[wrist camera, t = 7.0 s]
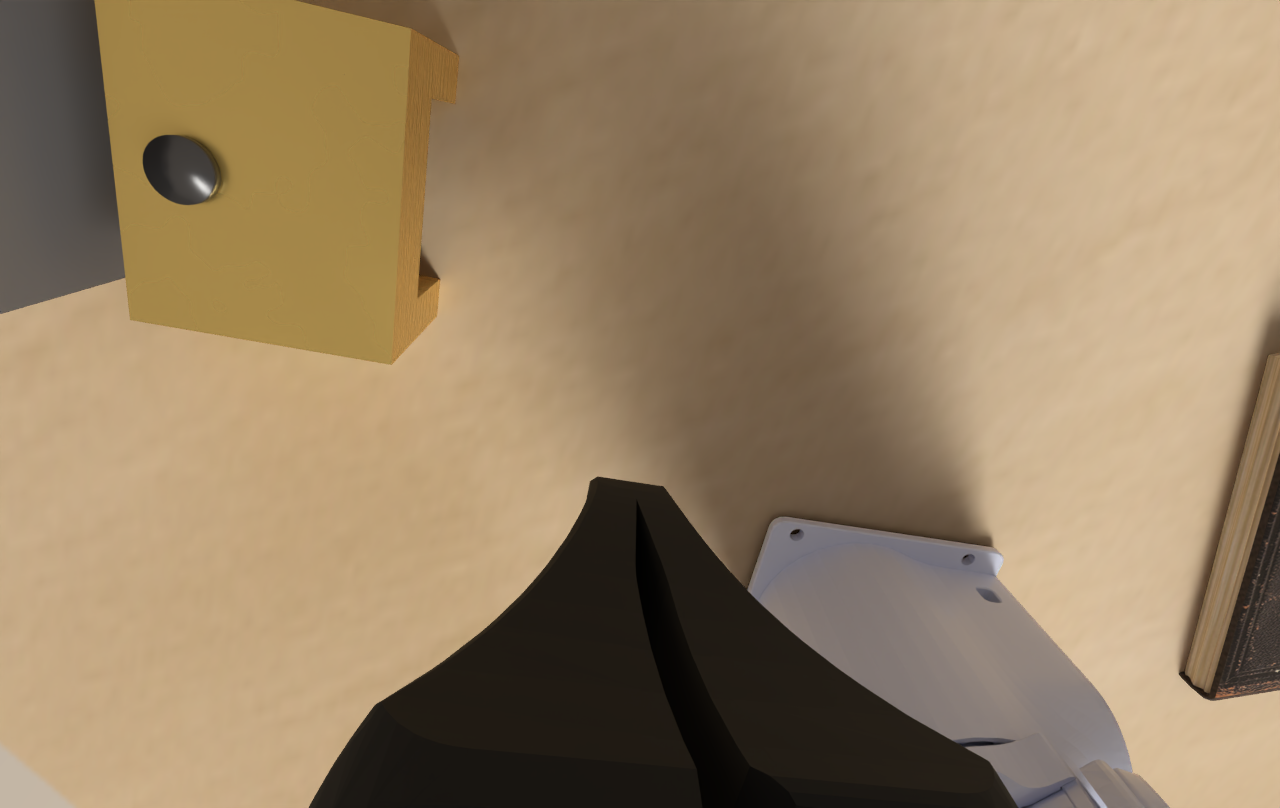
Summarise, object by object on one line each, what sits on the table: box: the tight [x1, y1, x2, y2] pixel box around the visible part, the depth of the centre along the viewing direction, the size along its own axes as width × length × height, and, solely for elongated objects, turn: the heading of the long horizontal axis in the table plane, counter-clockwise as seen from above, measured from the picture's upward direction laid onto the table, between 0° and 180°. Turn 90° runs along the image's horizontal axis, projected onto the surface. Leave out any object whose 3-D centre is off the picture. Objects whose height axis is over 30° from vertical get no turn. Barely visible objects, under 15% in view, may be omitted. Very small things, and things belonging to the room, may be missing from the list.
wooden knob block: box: [94, 0, 459, 365], centre depth 16 cm, size 6×7×5 cm
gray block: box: [0, 0, 125, 314], centre depth 14 cm, size 8×7×7 cm
